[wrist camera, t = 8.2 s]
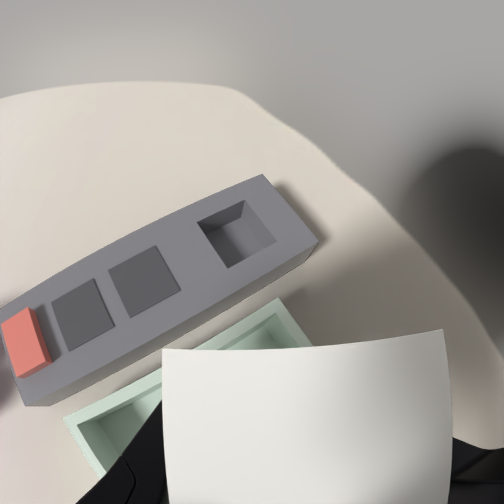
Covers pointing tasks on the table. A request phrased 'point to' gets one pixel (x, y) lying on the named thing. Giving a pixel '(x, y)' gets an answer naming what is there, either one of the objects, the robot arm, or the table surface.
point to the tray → (150, 387)
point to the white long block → (309, 423)
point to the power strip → (150, 289)
